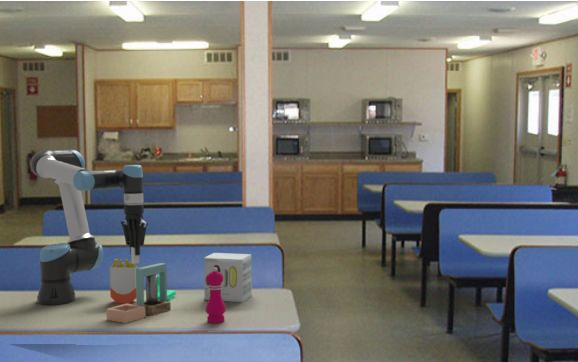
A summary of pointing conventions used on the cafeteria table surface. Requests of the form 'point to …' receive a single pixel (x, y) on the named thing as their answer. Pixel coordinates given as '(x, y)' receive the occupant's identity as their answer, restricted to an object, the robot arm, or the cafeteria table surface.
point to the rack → (125, 313)
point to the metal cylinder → (151, 290)
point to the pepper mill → (215, 298)
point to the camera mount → (169, 292)
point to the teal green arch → (148, 271)
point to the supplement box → (230, 275)
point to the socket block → (157, 307)
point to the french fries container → (123, 281)
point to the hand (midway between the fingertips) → (135, 263)
